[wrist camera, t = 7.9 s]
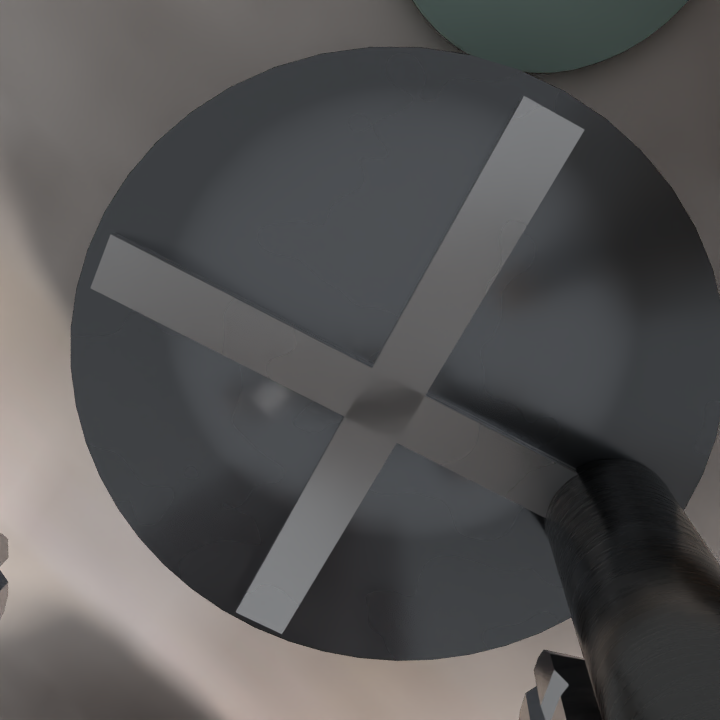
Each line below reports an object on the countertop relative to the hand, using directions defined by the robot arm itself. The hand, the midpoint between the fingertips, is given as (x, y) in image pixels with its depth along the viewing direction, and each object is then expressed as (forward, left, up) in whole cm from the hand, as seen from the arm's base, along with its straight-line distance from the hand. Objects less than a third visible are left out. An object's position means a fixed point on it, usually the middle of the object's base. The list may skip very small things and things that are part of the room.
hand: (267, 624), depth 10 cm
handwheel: (+3, -1, -3) cm, 4 cm away
